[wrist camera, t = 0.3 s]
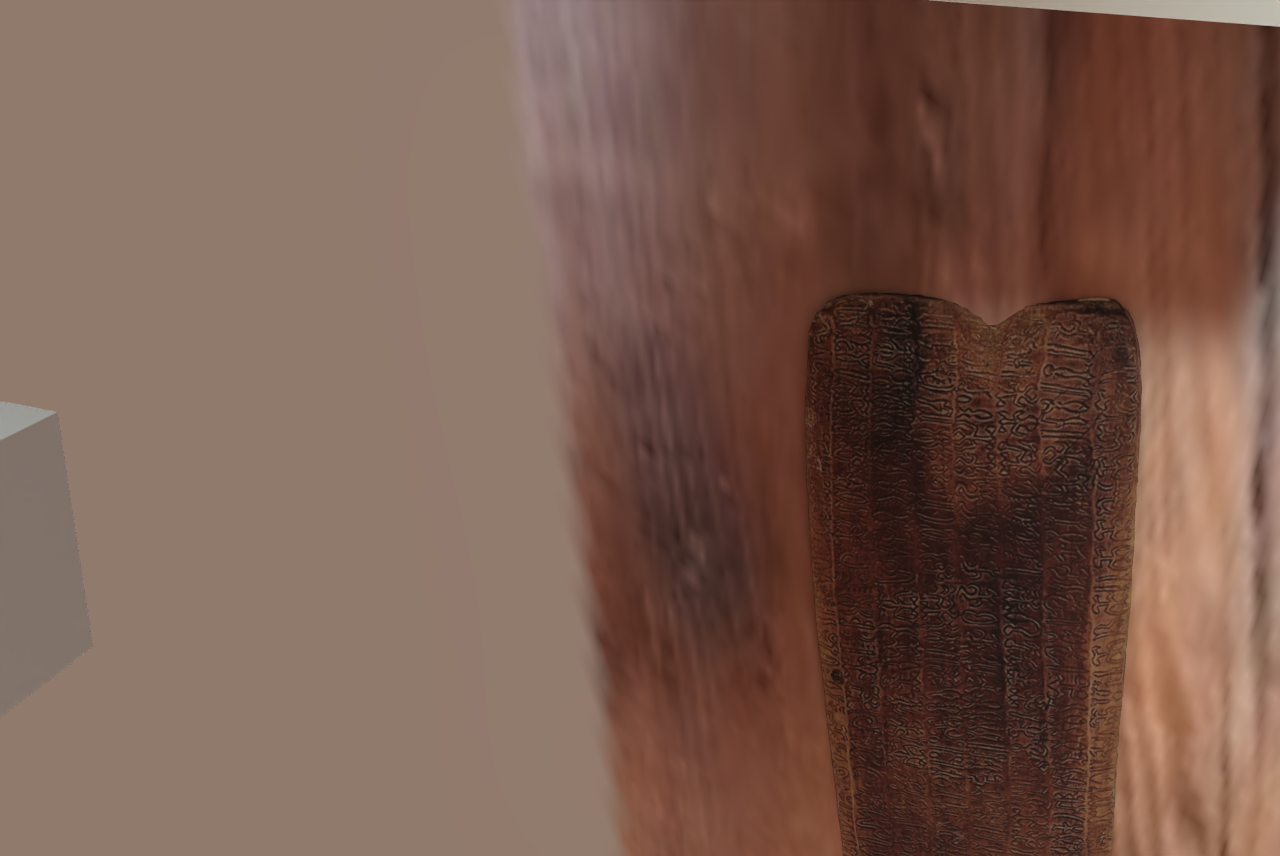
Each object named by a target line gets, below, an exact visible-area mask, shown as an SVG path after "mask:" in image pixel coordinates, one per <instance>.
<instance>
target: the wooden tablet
mask: <svg viewBox="0 0 1280 856" xmlns="http://www.w3.org/2000/svg"><path fill="white" fill-rule="evenodd" d="M1140 368H1141V361H1140V351H1139V344H1138V339H1137V335H1136V331H1135V326H1134V322H1133V320H1132V318H1131V316H1130V314H1129V312H1128V311H1127V310H1126V309H1124V308H1123V307H1122V306H1121V305H1120V303H1119V302H1117V301H1116V300H1113V299H1108V298H1097V297H1096V298H1083V299H1078V300H1068V301H1055V302H1050V303H1041V304H1036V305H1033V306H1027V307H1025V308H1024V309H1022V310H1020V311H1018V312H1017V313H1015V314H1014V315H1012V316H1011V317H1009V318H1008V319H1006V320H1005V321H1003V322H1002V323H1000V324H999V325H996V326H995V325H987V324H986V323H985V322H984V321H983V320H982V319H981V318H980V317H978V316H976V315H974V314H972V313H971V312H970V311H969V310H968V309H966V308H963V307H961V306H959V305H958V304H956V303H950V302H947V301H945V300H942V299H937V298H931V297H926V296H922V295H905V294H887V293H883V294H878V293H865V294H856V295H843V296H840V297H837V298H835V299H834V300H831V301H829V302H828V303H827V305H826V306H825V307H824V308H823V309H821V310H820V311H819V312H818V313H817V314H816V315H815V317H814V319H813V321H812V325H811V328H810V330H809V342H808V363H807V387H806V412H805V426H806V453H807V470H808V471H807V490H808V511H809V526H810V545H811V550H812V571H813V585H814V592H815V612H816V625H817V632H818V640H819V648H820V655H821V664H822V675H823V682H824V689H825V700H826V712H827V722H828V729H829V737H830V745H831V754H832V762H833V771H834V778H835V785H836V793H837V801H838V814H839V820H840V826H841V832H842V844H843V853H844V856H1111V855H1112V829H1113V818H1114V804H1115V783H1116V763H1117V756H1118V753H1117V747H1118V740H1119V724H1120V715H1121V707H1122V696H1123V686H1124V672H1125V662H1126V646H1127V637H1128V623H1129V614H1130V604H1131V587H1132V564H1133V554H1134V524H1135V506H1136V486H1137V482H1138V458H1139V439H1140V431H1141V392H1142V383H1141V374H1140Z"/></svg>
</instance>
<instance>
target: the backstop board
mask: <svg viewBox="0 0 1280 856" xmlns="http://www.w3.org/2000/svg"><path fill="white" fill-rule="evenodd" d="M931 1H944V2H958V3H971V4H984V5H998V6H1011V7H1024V8H1038V9H1051V10H1064V11H1078V12H1091V13H1104V14H1118V15H1131V16H1144V17H1158V18H1171V19H1184V20H1198V21H1211V22H1224V23H1238V24H1251V25H1264V26H1278V27H1280V0H931Z"/></svg>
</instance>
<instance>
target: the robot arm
mask: <svg viewBox="0 0 1280 856" xmlns="http://www.w3.org/2000/svg"><path fill="white" fill-rule="evenodd" d="M92 647H93V644H92V637H91V630H90V624H89V617H88V610H87V603H86V597H85V590H84V584H83V577H82V571H81V564H80V558H79V550H78V544H77V538H76V532H75V524H74V518H73V511H72V504H71V498H70V491H69V484H68V479H67V471H66V465H65V458H64V451H63V445H62V438H61V431H60V425H59V418H58V412H55V411H50V410H45V409H39V408H34V407H29V406H24V405H19V404H13V403H8V402H3V401H0V718H1V717H2V716H4V715H5V714H6V713H7V712H9V711H10V710H11V709H13V708H14V707H15V706H17V705H18V704H19V703H21V702H22V701H23V700H24V699H26V698H27V697H28V696H30V695H31V694H32V693H34V692H35V691H36V690H37V689H39V688H40V687H41V686H43V685H44V684H45V683H47V682H48V681H49V680H51V679H52V678H53V677H54V676H56V675H57V674H58V673H60V672H61V671H62V670H63V669H65V668H66V667H68V666H69V665H70V664H71V663H73V662H74V661H75V660H77V659H78V658H79V657H81V656H82V655H83V654H84V653H86V652H87V651H88V650H90V649H91V648H92Z"/></svg>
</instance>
